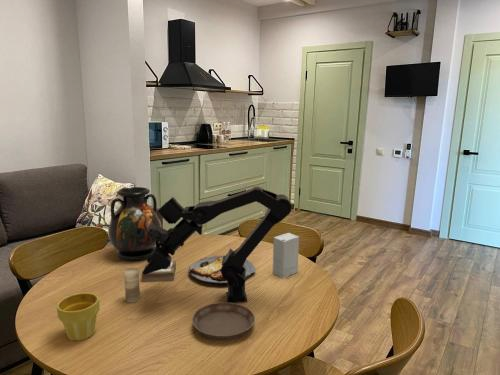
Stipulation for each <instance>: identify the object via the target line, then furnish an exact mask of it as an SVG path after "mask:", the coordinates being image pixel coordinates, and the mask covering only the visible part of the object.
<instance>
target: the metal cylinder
mask: <svg viewBox="0 0 500 375" xmlns="http://www.w3.org/2000/svg"><path fill="white" fill-rule="evenodd" d="M139 271H140V270H139V268H137V267H129V268H126V269H125V270H124V271H123V275H124V291H125V302H126V303H129V304H134V303H137V302H140V300H141V294H140V293H141V290H140V289H141V288H140V274H139V273H140V272H139Z"/></svg>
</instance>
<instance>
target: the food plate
mask: <svg viewBox="0 0 500 375" xmlns="http://www.w3.org/2000/svg"><path fill="white" fill-rule="evenodd" d="M225 255H226V254H224V255H222V254H221V255H213V256H206V257H203V258H201V259H199V260H197V261H195V262H194V263H192V264H191V265H189V268H188V274H190V276H191V277H193V278H195V279H196V280H199V281H200V282H204V283H213V284H214V283H215V284H227V285H228V283H227V280H226V279H225V278H224V277H223V276H222V274H221V268H222V260H223V256H225ZM243 267H244V268H245V269H246V276H245V278H247V277H248V276H250V275H251V274H252V273H255V272H256V267H255V266H254V263H252V262H251V261H249V260H248V259H246V261H245V263H244V265H243Z"/></svg>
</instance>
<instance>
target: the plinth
mask: <svg viewBox="0 0 500 375" xmlns="http://www.w3.org/2000/svg"><path fill="white" fill-rule="evenodd" d="M147 265H148V262H147V261H146V263H145V265H144V268H143V270H144V269H145V268H146V266H147ZM176 270H177V261H176V260H171V265H170V266H169V267H168V268H167V269H161V270H157V271H154V272H151V273H149V274H146V275H144V274H143V273H141V277H142V278H141V279H142V283H146V282H147V283H148V282H149V283H150V282H169V281H170V282H172V281H175V277H176Z"/></svg>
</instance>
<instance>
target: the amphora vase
mask: <svg viewBox="0 0 500 375" xmlns="http://www.w3.org/2000/svg"><path fill="white" fill-rule="evenodd" d="M150 192H151V191H150V189H149V188H147V187H141V186H139V187H138V186H134V187H132V186H131V187H125V188H119V190H117V191H116V194H117V195H118V196H120V197H121V198H122V199H121V198H119V197H117V198H114V199H112V201H111V202H110V221H109V224H108V231H107V235H108V239H109V241H110V244H111V245H112V246H113V247H114V248H115V249H116V252H115V255H116V257H117V258H118V259H120V260H123V261H129V262H134V261H135V262H136V261H137V262H138V261H142V260H147V259H148V258H149V256H150V255H151V253H152V252H153V250H154V249H155V247H156V240H153V239H151V238H147V237H146V234H147V231H148V229H149V227H150V225H151V224H154V225H156V226H159V227H161V228H163V226H162V223H161V220H160V218H159V217H158V213H157V211H158V207H157V206H158V205H157V204H158V203H157V198H156V196H155V195H154V194H152V193H150ZM149 198H151V199H152V207H151V206H150V205H149V204H148V200H149ZM118 202H119V203H120V205H119V208H118V209H117V210H116V211H115V205H116V203H118Z"/></svg>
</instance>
